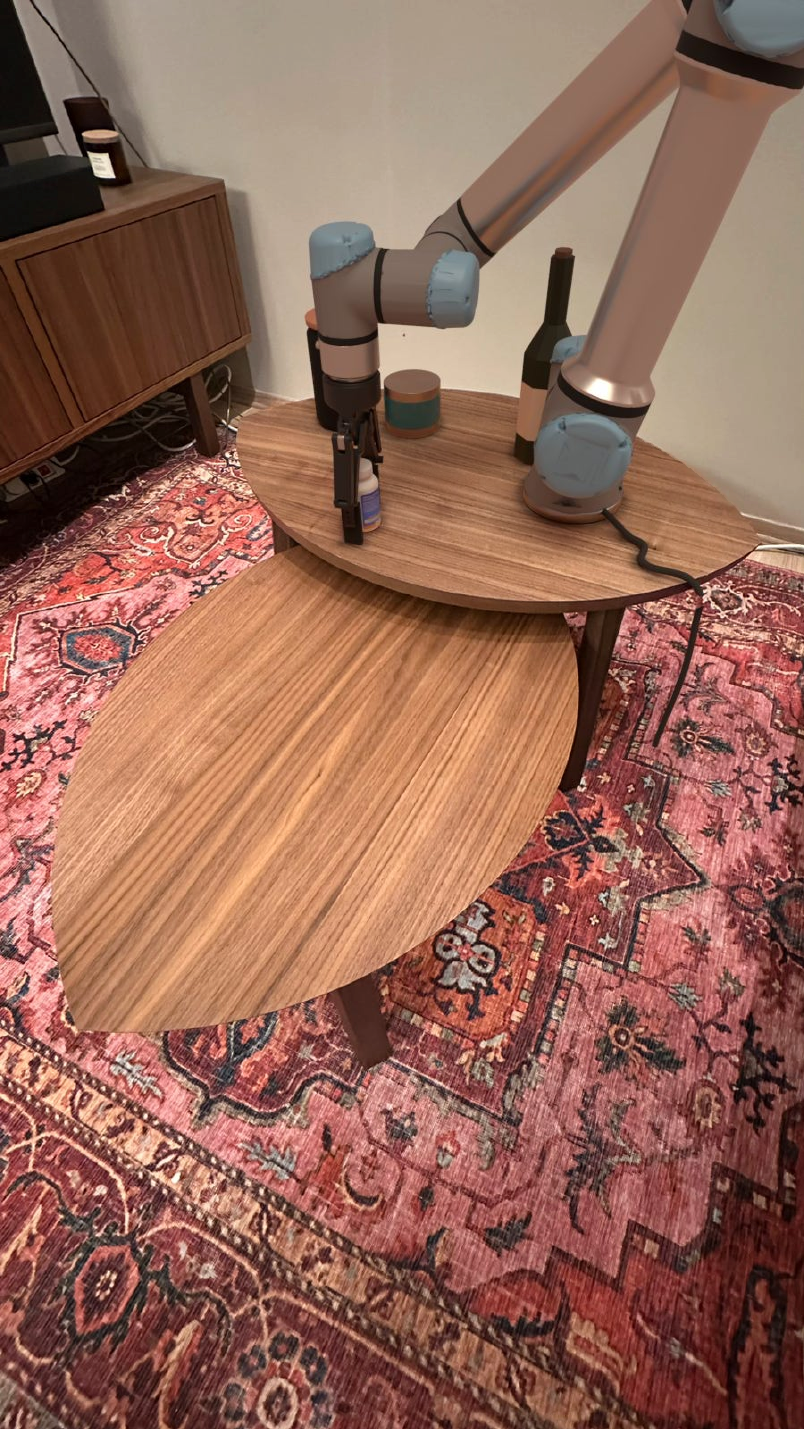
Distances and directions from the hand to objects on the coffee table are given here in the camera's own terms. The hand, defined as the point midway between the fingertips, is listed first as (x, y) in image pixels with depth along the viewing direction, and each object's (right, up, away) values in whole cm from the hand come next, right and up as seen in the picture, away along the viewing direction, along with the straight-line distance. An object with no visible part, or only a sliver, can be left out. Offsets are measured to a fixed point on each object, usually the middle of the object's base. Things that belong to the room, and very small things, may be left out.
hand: (363, 522), depth 105 cm
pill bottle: (0, 0, 0) cm, 0 cm away
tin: (+8, +24, +21) cm, 33 cm away
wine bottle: (+29, +15, +13) cm, 35 cm away
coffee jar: (-5, +25, +23) cm, 35 cm away
